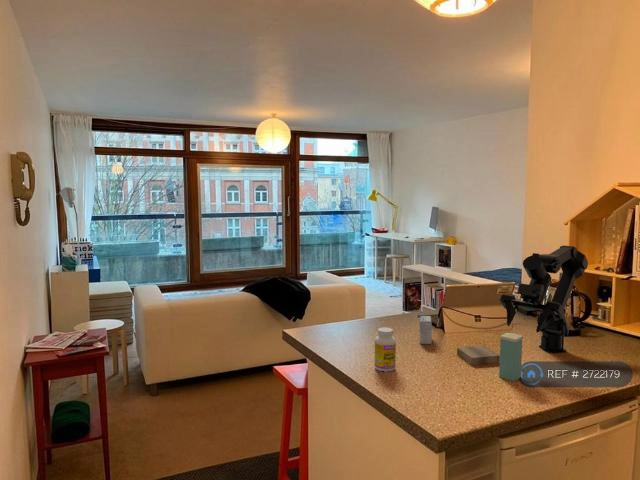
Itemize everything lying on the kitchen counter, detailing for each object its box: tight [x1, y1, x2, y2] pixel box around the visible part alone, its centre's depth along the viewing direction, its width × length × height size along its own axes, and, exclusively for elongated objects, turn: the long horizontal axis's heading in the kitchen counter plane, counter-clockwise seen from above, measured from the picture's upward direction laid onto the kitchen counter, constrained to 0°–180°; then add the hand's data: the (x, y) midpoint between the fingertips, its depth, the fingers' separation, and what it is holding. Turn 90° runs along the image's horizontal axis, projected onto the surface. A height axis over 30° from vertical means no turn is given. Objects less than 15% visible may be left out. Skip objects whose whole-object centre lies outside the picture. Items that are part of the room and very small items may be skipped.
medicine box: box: [418, 315, 433, 345], centre depth 176 cm, size 8×4×9 cm, turn 168°
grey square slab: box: [456, 345, 500, 366], centre depth 157 cm, size 10×10×3 cm
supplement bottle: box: [374, 326, 397, 373], centre depth 149 cm, size 7×7×13 cm
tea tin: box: [498, 332, 524, 382], centre depth 141 cm, size 5×5×13 cm
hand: (522, 328), depth 147 cm, fingers open, 9 cm apart
